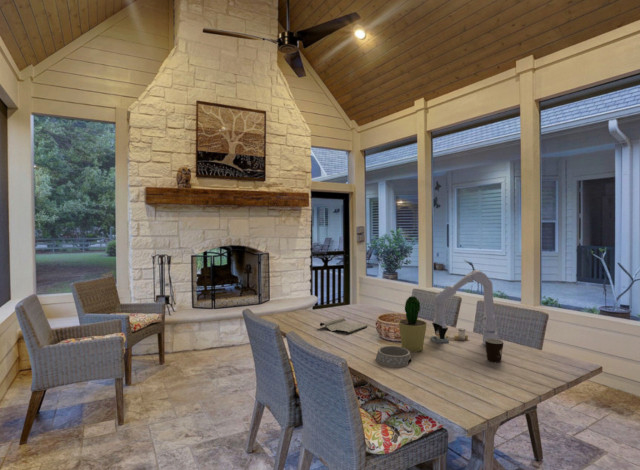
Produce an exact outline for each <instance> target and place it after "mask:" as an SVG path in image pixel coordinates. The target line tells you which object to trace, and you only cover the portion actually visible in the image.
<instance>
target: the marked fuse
mask: <svg viewBox="0 0 640 470" xmlns="http://www.w3.org/2000/svg"><path fill="white" fill-rule="evenodd" d="M435 336H436V339H435V340H444V339H440V335H439V330H437V331H436V335H435Z"/></svg>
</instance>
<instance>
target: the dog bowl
mask: <svg viewBox="0 0 640 470" xmlns="http://www.w3.org/2000/svg"><path fill="white" fill-rule="evenodd" d="M375 361H376V362H377V363H378V364H380V365H382V366H386V367H391V368H403V367H407V366H408V364H409V361H411V362H412V361H413V360H412V356H411V351H409V350H407V349H405V348H402V346H398V345H397V346H396V345H385V346H381V347H379V348H378V349H377V353H376V357H375Z"/></svg>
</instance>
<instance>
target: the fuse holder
mask: <svg viewBox="0 0 640 470" xmlns="http://www.w3.org/2000/svg"><path fill="white" fill-rule="evenodd" d="M445 337H446V338H447V339H448V340H449V342H470V341H471V340H470V339H469V336H468V334H465V340H459V336H458V334H454V336H452V337H449V335H447V334H445Z"/></svg>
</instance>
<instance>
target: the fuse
mask: <svg viewBox="0 0 640 470" xmlns="http://www.w3.org/2000/svg"><path fill="white" fill-rule="evenodd" d="M457 329H458V331H457V333H458V334H457V335H458V336H459V340H465V335H466V328H463V327H462V328H461V327H459V328H457Z"/></svg>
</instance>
